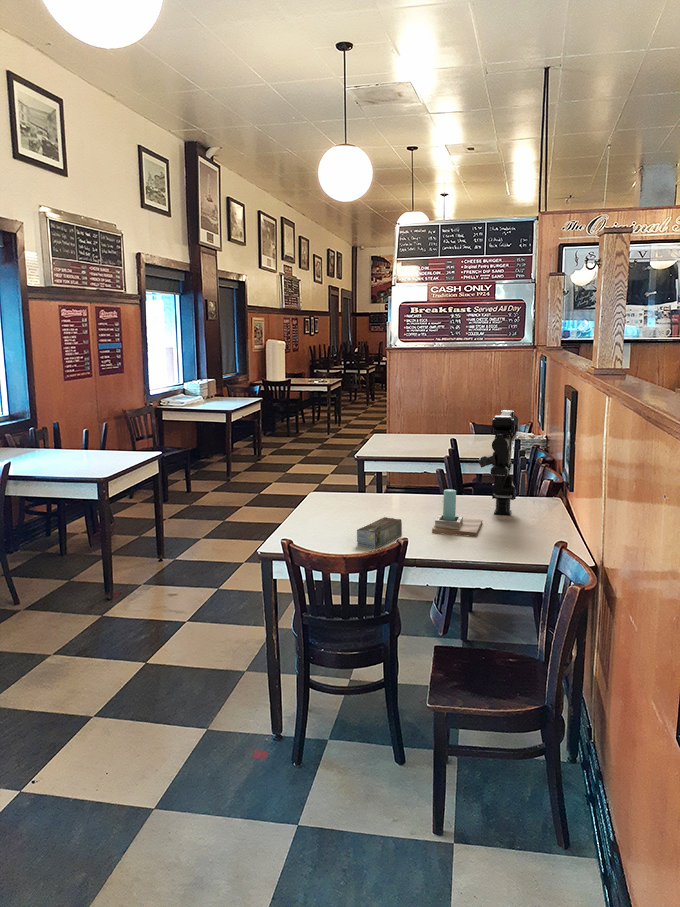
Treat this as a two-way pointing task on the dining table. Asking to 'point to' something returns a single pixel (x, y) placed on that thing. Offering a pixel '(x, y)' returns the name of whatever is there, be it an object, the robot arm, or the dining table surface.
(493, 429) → the robot arm
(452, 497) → the post
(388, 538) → the beverage carton
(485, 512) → the dining table surface
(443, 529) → the base board
